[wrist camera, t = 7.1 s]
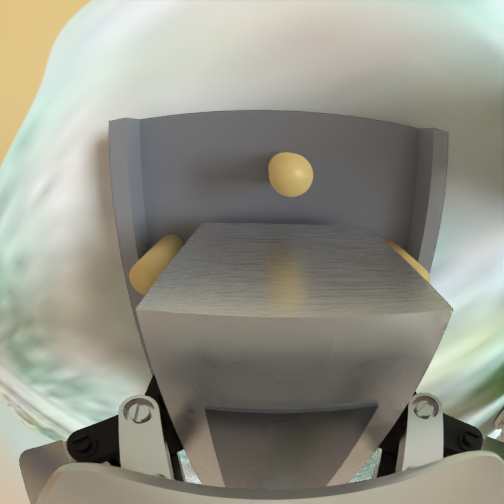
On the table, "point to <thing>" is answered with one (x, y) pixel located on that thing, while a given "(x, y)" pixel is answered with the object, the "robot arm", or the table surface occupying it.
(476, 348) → the table surface
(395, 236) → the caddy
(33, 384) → the table surface
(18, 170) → the table surface
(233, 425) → the block
